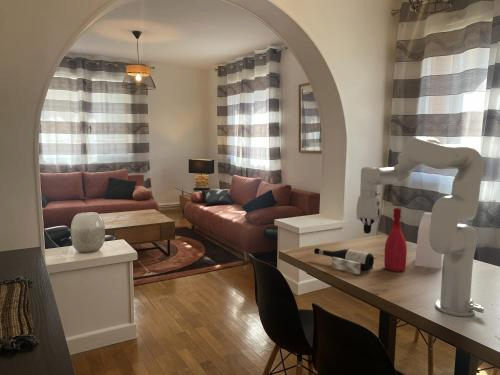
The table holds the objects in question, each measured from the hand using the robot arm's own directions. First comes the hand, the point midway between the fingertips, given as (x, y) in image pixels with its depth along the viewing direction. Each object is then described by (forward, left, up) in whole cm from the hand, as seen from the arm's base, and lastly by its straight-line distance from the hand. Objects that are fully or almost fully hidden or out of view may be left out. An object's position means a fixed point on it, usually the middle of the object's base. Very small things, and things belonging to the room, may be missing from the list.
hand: (367, 232), depth 174 cm
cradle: (+7, 0, -19) cm, 20 cm away
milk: (-17, -34, -19) cm, 43 cm away
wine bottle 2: (-8, -14, -19) cm, 25 cm away
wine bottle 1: (-2, -2, -14) cm, 14 cm away
